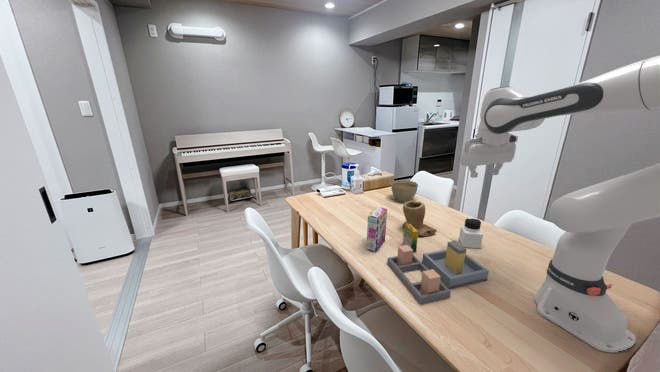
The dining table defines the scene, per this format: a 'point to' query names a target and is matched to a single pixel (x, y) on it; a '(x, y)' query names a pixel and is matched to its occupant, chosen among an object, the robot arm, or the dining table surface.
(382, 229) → the candy bar box
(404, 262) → the block
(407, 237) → the crayon box
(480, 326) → the dining table surface
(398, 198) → the planter bowl
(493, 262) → the dining table surface
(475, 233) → the medicine bottle
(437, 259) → the tray
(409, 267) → the slot holder
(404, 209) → the brown clay vase
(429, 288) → the block
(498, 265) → the dining table surface
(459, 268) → the yellow box
